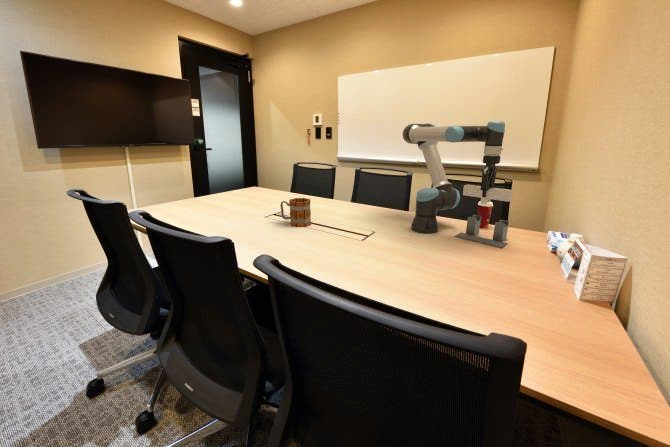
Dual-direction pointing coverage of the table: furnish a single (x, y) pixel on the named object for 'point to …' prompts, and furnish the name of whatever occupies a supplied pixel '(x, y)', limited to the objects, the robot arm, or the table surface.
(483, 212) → the coffee cup
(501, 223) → the post
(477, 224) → the post
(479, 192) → the rail
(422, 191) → the robot arm
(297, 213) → the mug
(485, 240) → the gray base plate
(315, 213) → the table surface
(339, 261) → the table surface
